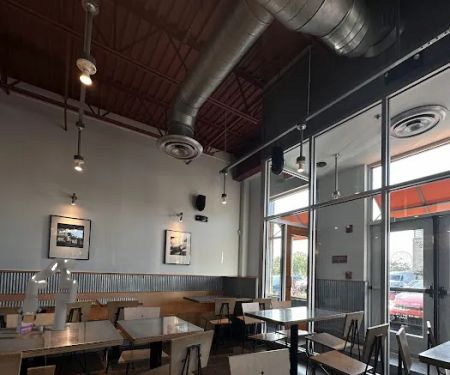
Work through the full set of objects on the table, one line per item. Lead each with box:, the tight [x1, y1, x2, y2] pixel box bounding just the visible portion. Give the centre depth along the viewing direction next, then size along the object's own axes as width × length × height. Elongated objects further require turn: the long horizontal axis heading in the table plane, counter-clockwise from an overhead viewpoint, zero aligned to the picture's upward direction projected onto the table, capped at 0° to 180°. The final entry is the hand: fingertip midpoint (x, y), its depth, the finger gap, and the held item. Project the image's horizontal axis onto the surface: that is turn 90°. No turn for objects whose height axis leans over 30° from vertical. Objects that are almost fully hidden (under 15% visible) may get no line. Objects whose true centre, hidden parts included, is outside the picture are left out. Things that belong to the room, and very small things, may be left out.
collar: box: [23, 314, 35, 324], centre depth 268 cm, size 7×7×5 cm
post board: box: [16, 325, 48, 340], centre depth 272 cm, size 20×20×8 cm
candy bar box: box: [15, 312, 34, 334], centre depth 285 cm, size 11×5×16 cm, turn 161°
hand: (28, 320), depth 268 cm, fingers closed on collar, 7 cm apart
